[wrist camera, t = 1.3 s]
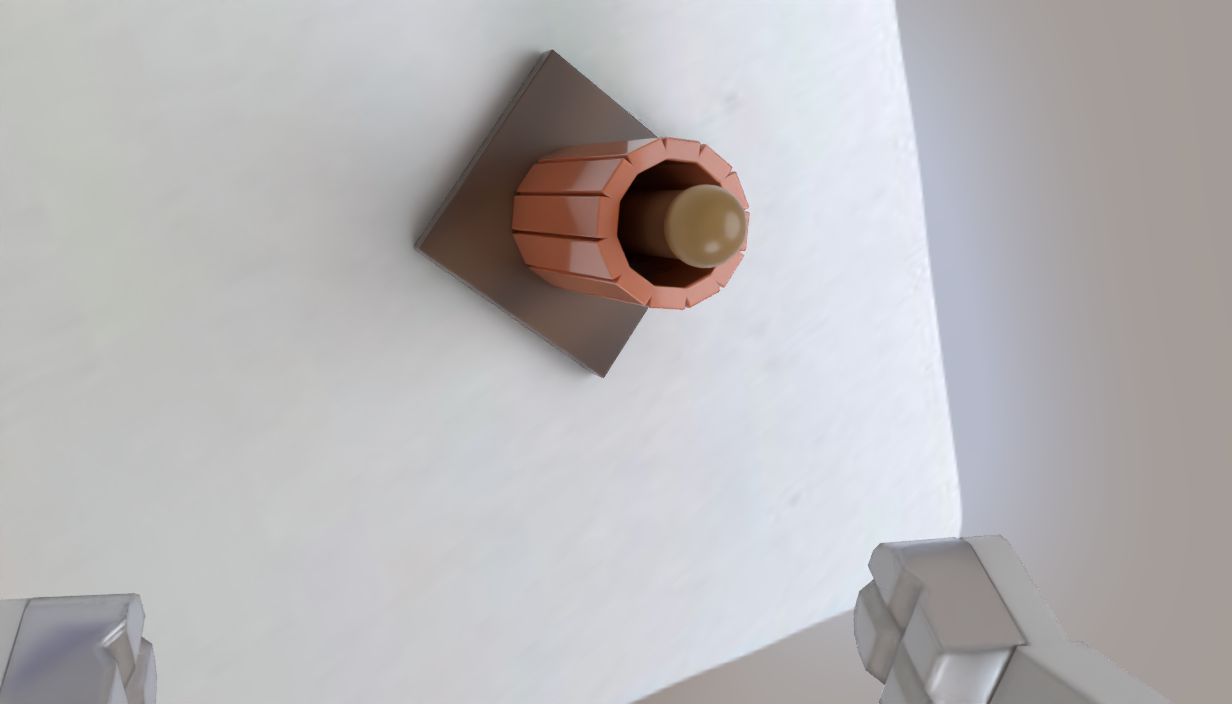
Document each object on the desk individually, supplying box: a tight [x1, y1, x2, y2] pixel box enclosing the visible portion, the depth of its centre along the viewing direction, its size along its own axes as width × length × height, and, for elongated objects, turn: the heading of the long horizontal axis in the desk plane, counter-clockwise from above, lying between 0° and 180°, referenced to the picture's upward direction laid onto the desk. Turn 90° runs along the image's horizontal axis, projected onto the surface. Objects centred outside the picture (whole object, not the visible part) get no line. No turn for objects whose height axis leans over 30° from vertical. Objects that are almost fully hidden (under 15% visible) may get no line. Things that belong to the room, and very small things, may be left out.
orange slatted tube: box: [512, 137, 749, 310], centre depth 44 cm, size 6×6×9 cm
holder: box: [414, 50, 747, 378], centre depth 43 cm, size 10×10×14 cm
